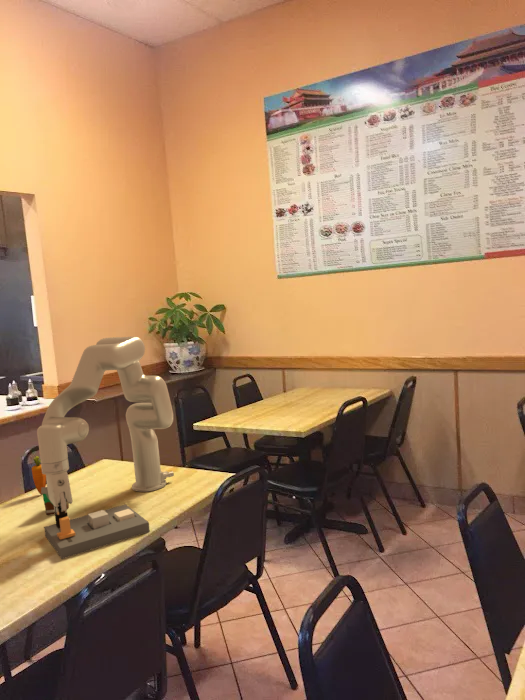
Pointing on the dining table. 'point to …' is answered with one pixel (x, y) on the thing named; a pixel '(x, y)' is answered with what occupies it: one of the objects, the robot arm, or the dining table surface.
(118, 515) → the cream button
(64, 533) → the orange slider handle
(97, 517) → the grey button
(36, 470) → the carrot
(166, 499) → the dining table surface
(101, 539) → the switch panel
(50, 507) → the food container
